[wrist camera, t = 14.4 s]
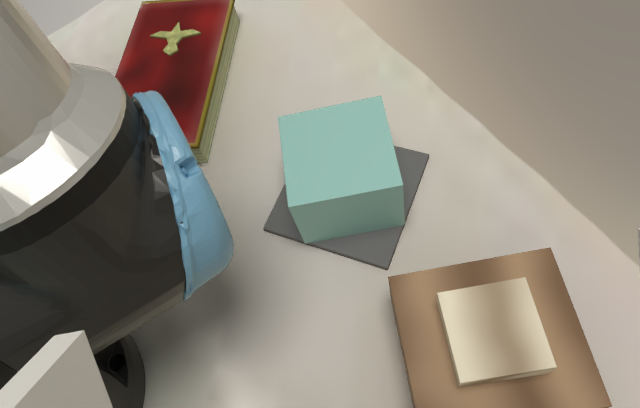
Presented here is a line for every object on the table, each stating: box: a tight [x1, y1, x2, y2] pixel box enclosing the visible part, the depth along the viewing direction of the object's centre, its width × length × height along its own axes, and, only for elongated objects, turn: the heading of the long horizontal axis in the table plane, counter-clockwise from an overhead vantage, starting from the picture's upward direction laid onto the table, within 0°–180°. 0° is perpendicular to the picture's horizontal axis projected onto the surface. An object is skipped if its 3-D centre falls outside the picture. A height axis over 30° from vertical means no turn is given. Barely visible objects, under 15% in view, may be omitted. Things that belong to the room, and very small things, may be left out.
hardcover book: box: [115, 0, 240, 163], centre depth 57 cm, size 12×21×4 cm, turn 175°
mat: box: [263, 146, 429, 270], centre depth 48 cm, size 12×12×1 cm
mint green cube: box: [278, 96, 405, 244], centre depth 45 cm, size 9×9×7 cm
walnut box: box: [388, 247, 612, 408], centre depth 37 cm, size 12×11×7 cm
